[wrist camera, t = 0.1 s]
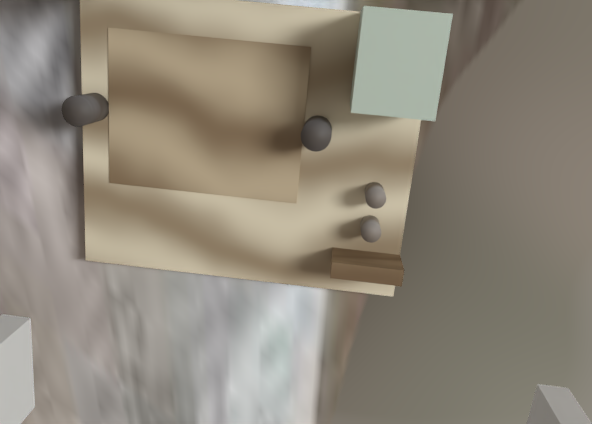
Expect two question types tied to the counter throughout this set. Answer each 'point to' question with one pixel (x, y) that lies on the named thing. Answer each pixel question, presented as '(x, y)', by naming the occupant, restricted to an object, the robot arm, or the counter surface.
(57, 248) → the counter surface
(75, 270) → the counter surface
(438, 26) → the block
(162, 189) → the board
